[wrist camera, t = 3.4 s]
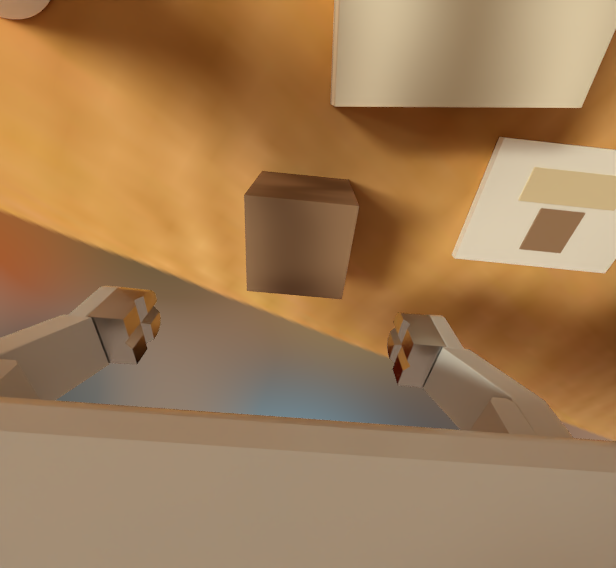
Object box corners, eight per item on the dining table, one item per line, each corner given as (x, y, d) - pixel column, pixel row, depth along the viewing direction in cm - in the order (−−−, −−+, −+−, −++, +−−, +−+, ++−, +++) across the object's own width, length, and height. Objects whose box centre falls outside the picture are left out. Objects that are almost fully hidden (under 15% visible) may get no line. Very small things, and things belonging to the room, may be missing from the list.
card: (680, 157, 16) (693, 158, 15) (598, 269, 19) (606, 274, 19) (499, 136, 15) (505, 138, 15) (451, 254, 19) (455, 259, 19)
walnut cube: (348, 179, 17) (359, 206, 13) (336, 256, 20) (341, 299, 15) (262, 170, 17) (244, 194, 13) (262, 249, 19) (247, 290, 15)
